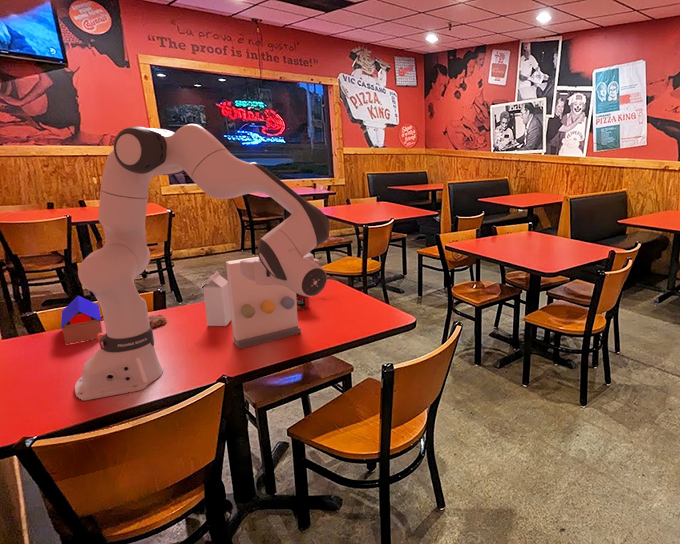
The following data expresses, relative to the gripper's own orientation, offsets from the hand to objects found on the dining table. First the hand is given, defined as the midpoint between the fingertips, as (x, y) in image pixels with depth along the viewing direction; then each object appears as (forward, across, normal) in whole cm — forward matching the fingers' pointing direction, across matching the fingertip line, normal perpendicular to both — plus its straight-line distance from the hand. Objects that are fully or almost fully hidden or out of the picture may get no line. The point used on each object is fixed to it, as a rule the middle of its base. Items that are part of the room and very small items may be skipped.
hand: (267, 258), depth 127 cm
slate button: (+14, -11, +22) cm, 28 cm away
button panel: (+17, -4, +32) cm, 36 cm away
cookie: (+52, +28, +32) cm, 67 cm away
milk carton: (+39, +6, +32) cm, 51 cm away
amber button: (+14, -4, +22) cm, 26 cm away
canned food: (+37, -26, +32) cm, 56 cm away
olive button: (+14, +3, +22) cm, 26 cm away
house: (+58, +50, +32) cm, 83 cm away
